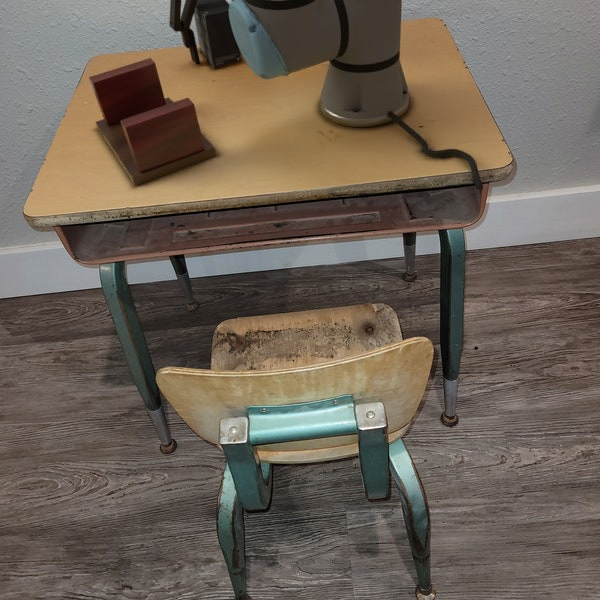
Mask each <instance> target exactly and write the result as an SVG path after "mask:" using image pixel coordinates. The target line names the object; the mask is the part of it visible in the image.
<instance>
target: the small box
mask: <svg viewBox="0 0 600 600" xmlns="http://www.w3.org/2000/svg"><path fill="white" fill-rule="evenodd" d="M229 5H230V3H229V2H228V1H227V0H198V1H197V4H196V8H195V11H194V15H193V19H194V22H195V28H196V33H197V40H198V45H199V51H200V53H202V55H203V56H204V58H205V59H206V60H207V62H208V63H209V65H210V66H211V67H212V69H216V68H220V67H224V66H229V65H232V64H236V63H240V62H242V54H241V51H240V49H239V47H238V45H237V42H236V39H235V37H234V34H233V31H232V27H231V23H230V19H229Z"/></svg>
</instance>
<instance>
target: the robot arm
mask: <svg viewBox="0 0 600 600" xmlns="http://www.w3.org/2000/svg"><path fill="white" fill-rule="evenodd" d="M197 1H198V0H185V1H184V5H183V8H182V0H170V2H169V3H170V5H169V24H168V25H169V28H171V29H172V30H173V31H174V32H176V33H177V32H180V35H181V39H182V43H183V46H184V47H185V48H187V49H188V50H189V53H190V58H191V61H192V62H193V63H194V64H195V65H196V66H198V65H201V61H200V56H199V55H200V54H199V51H198V47H197V42H196V36H195V32H194V30H193V29H192V28H191V26H192V21H193V19H194V11H195V8H196V4H197ZM230 1H231V2H230V3H229V4H230V5H229V19H230V23H231V27H232V31H233V34H234V37H235V39H236V42H237V45H238V47H239V49H240V54H241V56H242V58H243V60H244V61H245V63H246V64H247V66H248V68H249V69H250V70H251V71H252V72H253V74H255V75H256V76H257V77H258V78H260V79H262V80H272V79H276V78H279V77H282V76H284V77H288V76H289V75H290V74H292V73H296V72H299V71H302V70H305V69H308V68H312V67H314V66H317V65H321V64H323V63H326V62H328V67H327V70H326V74H325V78H324V82H323V86H322V89H321V93H320V109H321V112H322V114H323V115H324V116H325V117H326V118H327V119H328V120H330V121H332V122H334V123H336V124H339V125H343V126H347V127H354V128H368V127H377V126H382V125H384V124H388V123H390V122H391V123H392V122H394V123H396V124H397V125H398V126H399V127H400V128H401V129H403V130H404V131H405V132H406V133H407V134H408V135H410V136H411V137H412V138H413V139H415V140H416V142H418V143H419V144H420V145H421V148H422V152H423V153H424V154H425V155H426V156H429V157H433V158H440V157H446V156H455V157H458V158H461V159H463V160H465V161H466V162H467V163H468V165H469V167H470V171H471V175H472V179H473V182H474V185H475V188H476V190H478V191H482V190H484V185H483V183H482V179H481V176H480V172H479V169H478V168H479V167H478V165H477V162H476V160H475V158H474V157H473V156H472V155H471V154H469V153H467V152H465V151H463V150H461V149H457V148H446V149H440V150H433V149H431V148H429V144H428V142H427V140H426V139H424V137H422V135H420V134H419V132H417V131H416V130H415V129H414V128H412V127H411V126H410V125H408V124H407V123H406V122H405V121H404V120H403V119H401V118H400V117H401V116H403V115H404V114H405V113H406V111H407V110H408V108H409V105H410V92H409V87H408V83H407V79H406V77H405V74H404V70H403V67H402V64H401V63H402V62H401V59H400V58H401V57H400V56H401V33H402V7H403V6H402V5H403V4H402V3H403V0H230Z"/></svg>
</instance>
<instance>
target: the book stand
mask: <svg viewBox="0 0 600 600" xmlns="http://www.w3.org/2000/svg"><path fill="white" fill-rule="evenodd" d="M88 79H89V83H90V84H91V87H92V90H93V93H94V95H95V99H96V101H97V104H98V107H99V111H100V112H101V115H102V119H99V120H96V121H95V125H96V127H97V130H98V132H99V133H100V134H101V136H102V137H103V139H104V140H105V142H106V144H107V145H108V147H109V148H110V150H111V151H112V153H113V154H114V156H115V157H116V159H117V161H118V162H119V163H120V165H121V167H122V168H123V169H124V171H125V173H126V174H127V176H128V177H129V179H130V180H131V181H132V183H133V185H134V186H135V187H136V186H138V185H142V184H144V183H146V182H150V181H153V180H155V179H158V178H160V177H163V176H165V175H168V174H171V173H174V172H176V171H178V170H181V169H184V168H187V167H189V166H192V165H194V164H198V163H200V162H203V161H206V160H208V159H210V158H214V157H216V156H217V153H216V149H215V147H214V146H213V144H212V143H211V141H209V140H208V139H207V138H206V137H205V136H204V134H202V131H201V127H200V124H199V119H198V114H197V111H196V107H195V106H196V105H195V103H194V102H193V101H192V100H191V99H190V98H189V97H186V98H183V99H179V100H176V101H173V100H172V99H171V98H170V97H169V96H168V97H165V95H164V91H163V87H162V84H161V80H160V75H159V71H158V68H157V65H156V62H155V61H154V60H153V59H152V58H146V59H143V60H140V61H139V60H138V61H136V62H133V63H130V64H127V65H123V66H121V67H117V68H114V69H111V70H107V71H104V72H101V73H98V74H95V75H91V76H88Z"/></svg>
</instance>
